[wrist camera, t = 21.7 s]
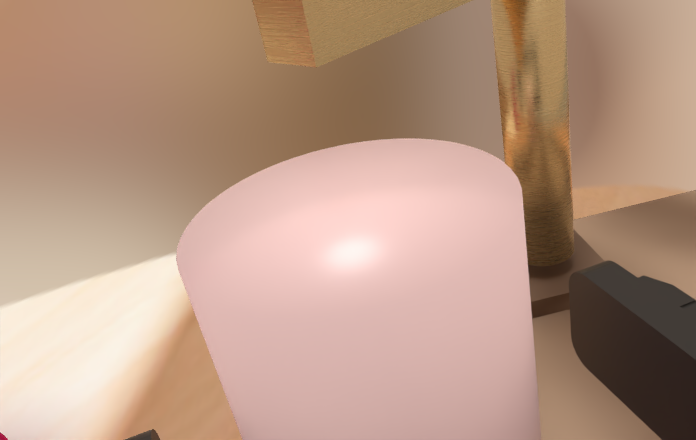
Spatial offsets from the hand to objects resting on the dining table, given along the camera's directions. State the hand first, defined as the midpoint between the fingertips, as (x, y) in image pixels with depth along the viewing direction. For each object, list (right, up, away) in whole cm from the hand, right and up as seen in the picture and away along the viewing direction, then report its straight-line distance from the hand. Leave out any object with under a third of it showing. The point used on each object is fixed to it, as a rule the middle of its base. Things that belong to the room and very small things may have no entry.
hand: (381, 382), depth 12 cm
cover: (+2, -7, +4) cm, 8 cm away
